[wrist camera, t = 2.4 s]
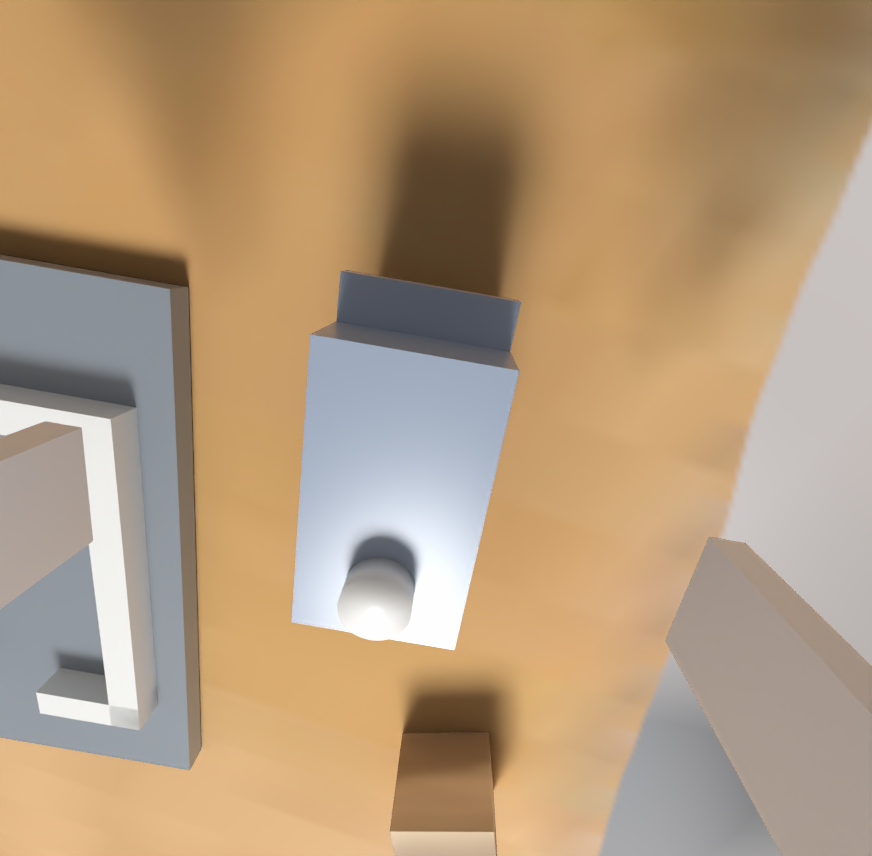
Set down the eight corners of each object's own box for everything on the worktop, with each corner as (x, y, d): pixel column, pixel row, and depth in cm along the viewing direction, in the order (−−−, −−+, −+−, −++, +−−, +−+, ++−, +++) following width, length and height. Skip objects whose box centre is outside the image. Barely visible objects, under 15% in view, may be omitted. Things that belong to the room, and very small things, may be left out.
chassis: (-240, 212, 15) (-354, 205, 13) (188, 287, 15) (143, 291, 13) (-81, 700, 23) (-136, 744, 20) (201, 748, 23) (174, 798, 20)
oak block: (402, 731, 21) (389, 831, 18) (488, 730, 21) (494, 832, 17) (412, 789, 23) (402, 893, 19) (493, 788, 22) (499, 894, 19)
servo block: (378, 267, 14) (299, 275, 8) (504, 289, 14) (540, 317, 8) (350, 518, 18) (276, 683, 11) (452, 536, 18) (445, 712, 11)
